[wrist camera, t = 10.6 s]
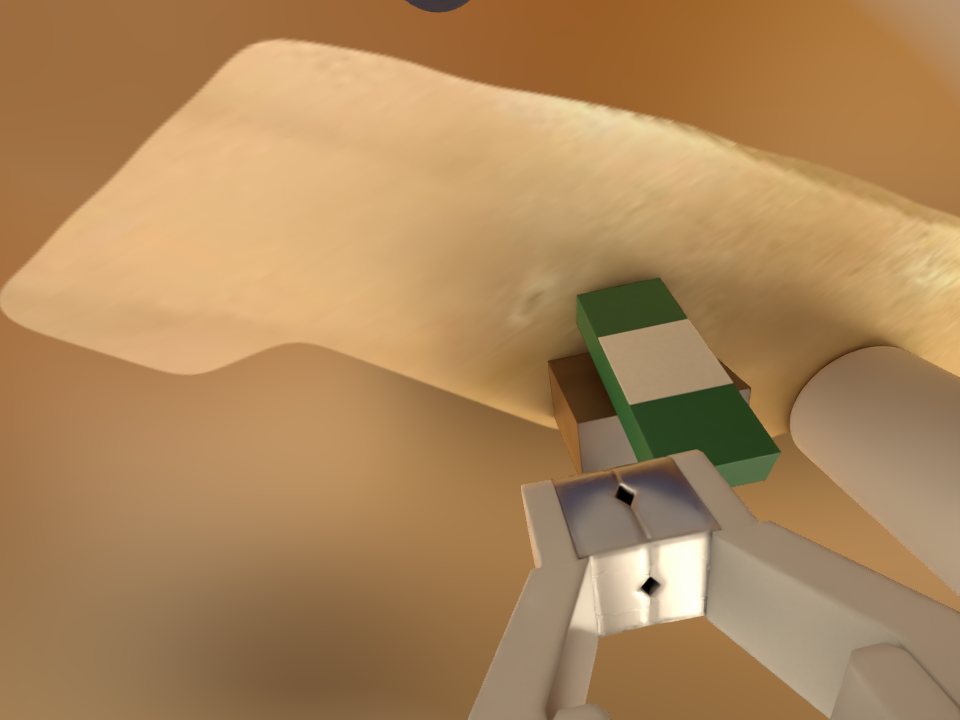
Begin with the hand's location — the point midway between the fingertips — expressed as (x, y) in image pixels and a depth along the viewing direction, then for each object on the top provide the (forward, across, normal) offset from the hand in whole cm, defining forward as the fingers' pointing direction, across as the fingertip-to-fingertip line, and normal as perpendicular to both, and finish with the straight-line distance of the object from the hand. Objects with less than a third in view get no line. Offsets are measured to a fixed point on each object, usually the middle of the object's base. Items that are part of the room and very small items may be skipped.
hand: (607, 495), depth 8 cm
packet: (+21, -10, +12) cm, 26 cm away
